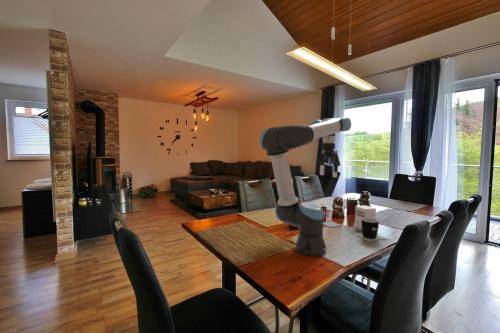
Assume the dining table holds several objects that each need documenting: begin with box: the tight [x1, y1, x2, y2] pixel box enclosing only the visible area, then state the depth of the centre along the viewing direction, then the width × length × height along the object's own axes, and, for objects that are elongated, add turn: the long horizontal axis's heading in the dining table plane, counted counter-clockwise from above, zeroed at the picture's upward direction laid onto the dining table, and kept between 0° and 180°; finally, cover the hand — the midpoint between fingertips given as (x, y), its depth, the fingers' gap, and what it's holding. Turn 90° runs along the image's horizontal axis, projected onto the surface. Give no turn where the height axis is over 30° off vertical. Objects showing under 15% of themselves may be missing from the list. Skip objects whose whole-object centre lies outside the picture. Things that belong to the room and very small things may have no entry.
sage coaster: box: [353, 231, 386, 242], centre depth 140 cm, size 12×12×1 cm
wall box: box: [354, 205, 377, 230], centre depth 155 cm, size 9×9×14 cm
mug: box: [361, 218, 380, 239], centre depth 139 cm, size 12×9×10 cm
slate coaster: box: [323, 220, 342, 228], centre depth 163 cm, size 10×10×1 cm
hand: (328, 176), depth 152 cm, fingers open, 13 cm apart
